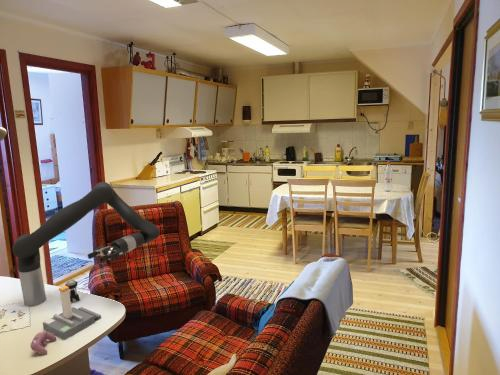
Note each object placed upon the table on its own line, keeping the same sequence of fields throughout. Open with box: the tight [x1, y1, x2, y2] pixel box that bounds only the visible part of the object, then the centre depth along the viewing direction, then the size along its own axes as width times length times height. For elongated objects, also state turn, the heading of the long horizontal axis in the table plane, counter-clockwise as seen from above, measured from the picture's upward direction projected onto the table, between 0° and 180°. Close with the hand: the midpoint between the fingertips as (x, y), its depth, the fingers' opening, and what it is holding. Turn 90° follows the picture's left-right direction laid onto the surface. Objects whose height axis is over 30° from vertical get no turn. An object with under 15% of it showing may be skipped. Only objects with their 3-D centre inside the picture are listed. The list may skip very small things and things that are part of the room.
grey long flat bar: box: [78, 306, 102, 322], centre depth 167 cm, size 14×3×1 cm, turn 58°
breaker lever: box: [58, 285, 73, 320], centre depth 158 cm, size 3×3×14 cm
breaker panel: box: [42, 306, 96, 341], centre depth 159 cm, size 15×14×4 cm
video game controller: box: [29, 330, 57, 355], centre depth 145 cm, size 10×5×7 cm, turn 5°
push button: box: [64, 279, 80, 303], centre depth 179 cm, size 7×5×10 cm
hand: (94, 258), depth 167 cm, fingers open, 8 cm apart
